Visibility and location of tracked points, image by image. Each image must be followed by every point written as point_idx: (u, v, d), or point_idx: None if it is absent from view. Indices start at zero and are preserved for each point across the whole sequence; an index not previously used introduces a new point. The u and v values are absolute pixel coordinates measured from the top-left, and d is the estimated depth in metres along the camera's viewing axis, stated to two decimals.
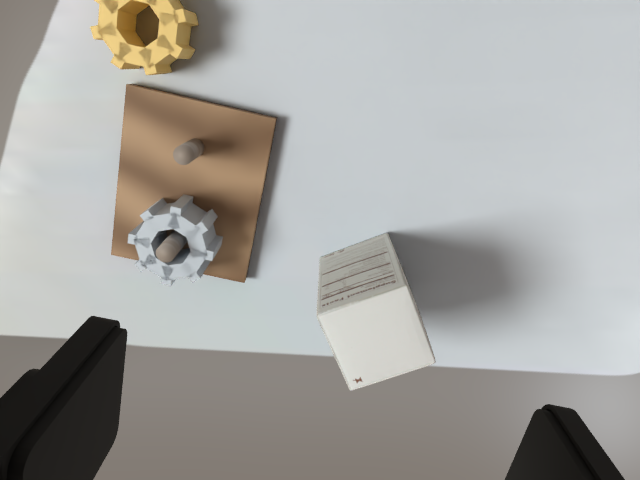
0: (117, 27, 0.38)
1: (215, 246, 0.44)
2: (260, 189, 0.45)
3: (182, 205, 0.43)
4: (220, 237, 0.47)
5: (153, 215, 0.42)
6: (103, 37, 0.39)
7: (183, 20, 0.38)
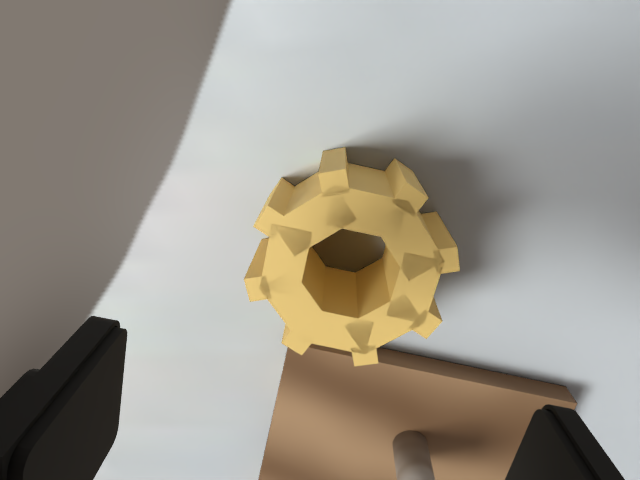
0: (302, 278, 0.17)
1: None
2: None
3: None
4: None
5: None
6: (271, 299, 0.18)
7: (454, 269, 0.17)
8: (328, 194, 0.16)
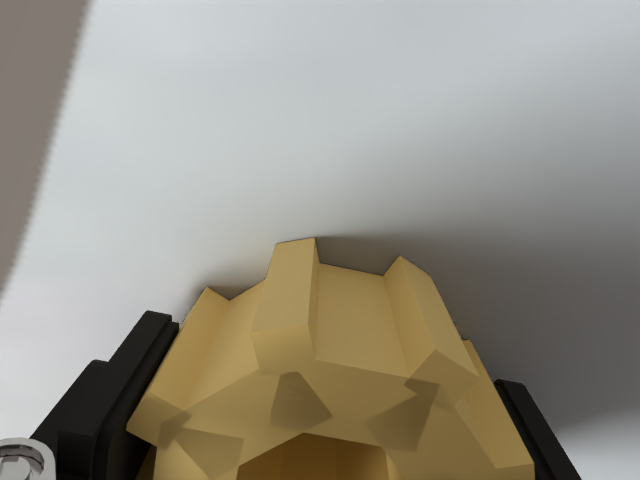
0: None
1: None
2: None
3: None
4: None
5: None
6: None
7: None
8: (273, 371, 0.08)
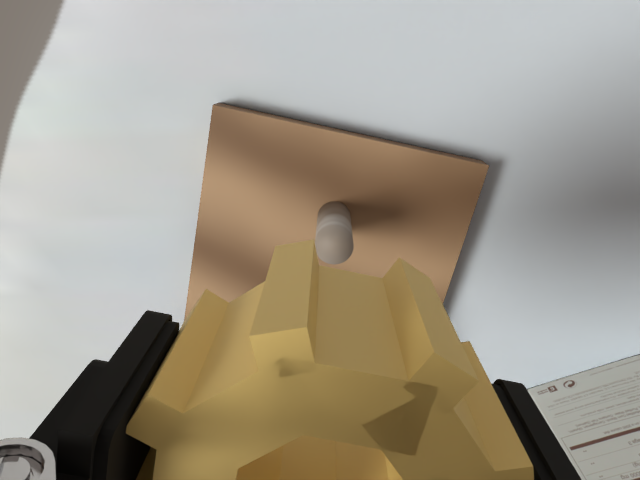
0: None
1: None
2: (445, 287, 0.25)
3: None
4: None
5: None
6: None
7: None
8: (272, 374, 0.08)
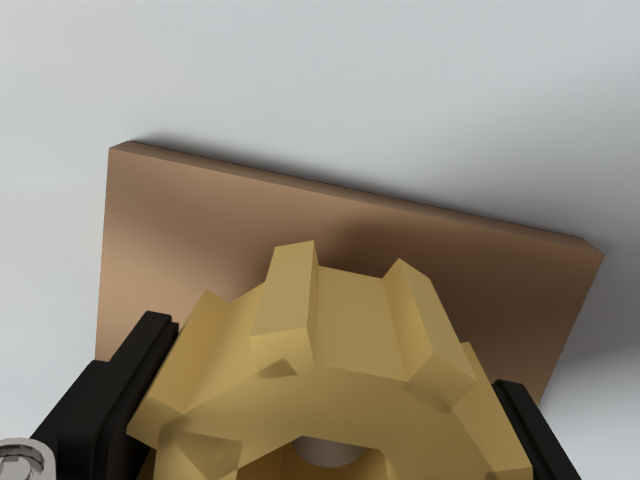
0: None
1: None
2: None
3: None
4: None
5: None
6: None
7: None
8: (272, 375, 0.08)
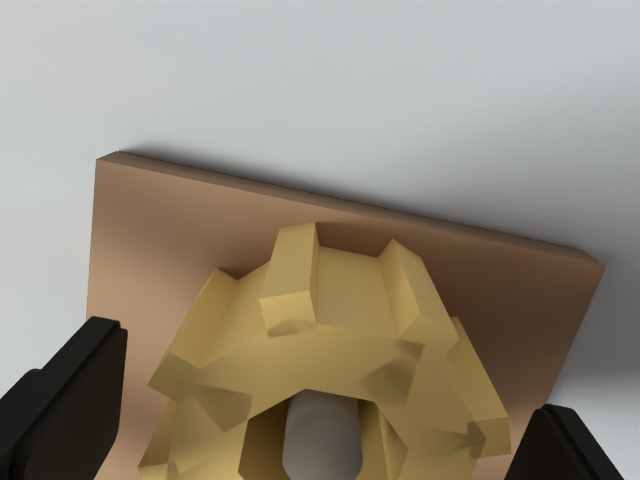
0: (239, 461, 0.10)
1: None
2: None
3: None
4: None
5: None
6: None
7: (503, 451, 0.10)
8: (279, 333, 0.09)
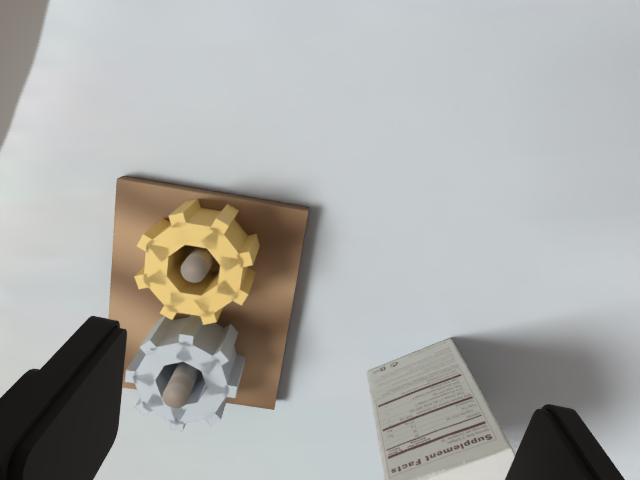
0: (167, 274, 0.31)
1: (238, 376, 0.34)
2: (291, 297, 0.36)
3: (194, 329, 0.33)
4: (242, 358, 0.37)
5: (157, 345, 0.33)
6: (150, 287, 0.31)
7: (249, 264, 0.31)
8: (175, 226, 0.30)
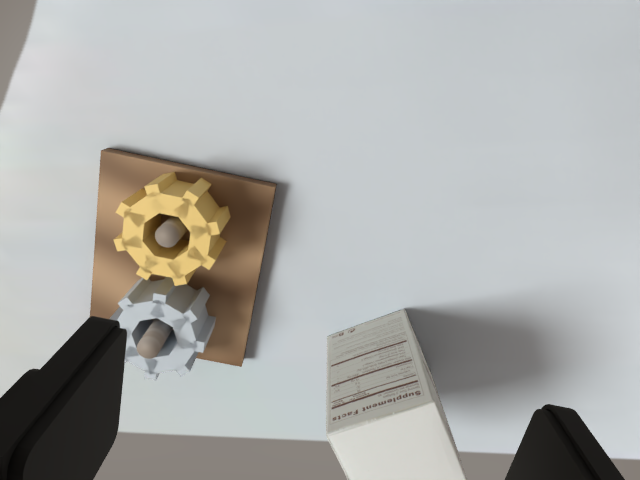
0: (143, 238, 0.35)
1: (207, 333, 0.38)
2: (258, 265, 0.39)
3: (167, 290, 0.37)
4: (213, 318, 0.40)
5: (133, 303, 0.36)
6: (128, 250, 0.35)
7: (217, 233, 0.34)
8: (150, 196, 0.33)
